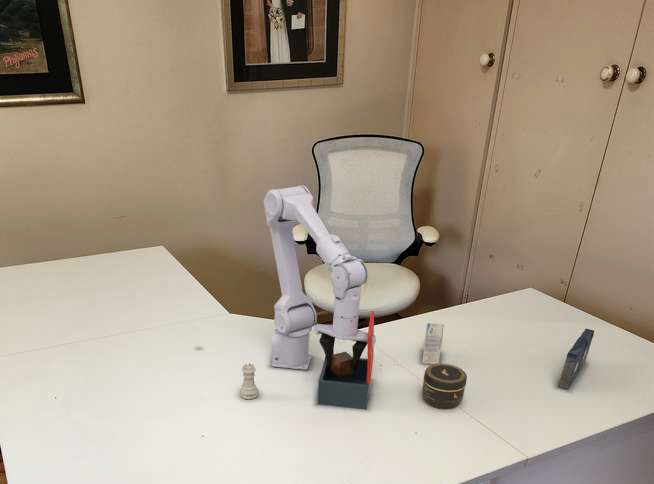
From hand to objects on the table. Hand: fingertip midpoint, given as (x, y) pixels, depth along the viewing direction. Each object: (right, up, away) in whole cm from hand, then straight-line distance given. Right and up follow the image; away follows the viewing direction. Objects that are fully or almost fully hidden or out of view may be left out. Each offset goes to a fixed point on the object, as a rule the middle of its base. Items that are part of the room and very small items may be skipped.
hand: (342, 366), depth 148 cm
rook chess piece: (-22, -7, +1) cm, 23 cm away
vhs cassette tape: (+61, -1, +16) cm, 64 cm away
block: (0, -1, +1) cm, 1 cm away
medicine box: (+25, +4, +21) cm, 33 cm away
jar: (+24, -8, +2) cm, 26 cm away
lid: (+6, +4, -4) cm, 8 cm away
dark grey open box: (+1, -6, +4) cm, 7 cm away
